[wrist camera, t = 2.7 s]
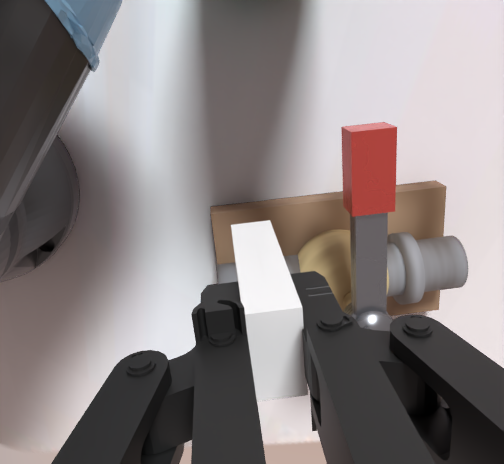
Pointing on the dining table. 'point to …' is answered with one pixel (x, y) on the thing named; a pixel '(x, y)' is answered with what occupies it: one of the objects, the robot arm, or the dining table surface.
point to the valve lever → (369, 217)
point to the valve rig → (338, 243)
